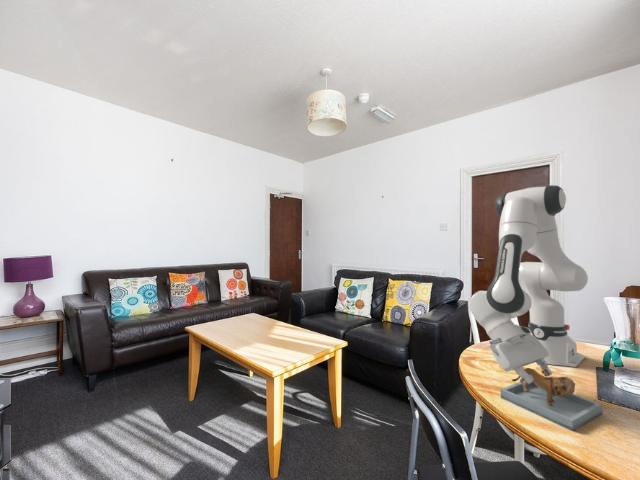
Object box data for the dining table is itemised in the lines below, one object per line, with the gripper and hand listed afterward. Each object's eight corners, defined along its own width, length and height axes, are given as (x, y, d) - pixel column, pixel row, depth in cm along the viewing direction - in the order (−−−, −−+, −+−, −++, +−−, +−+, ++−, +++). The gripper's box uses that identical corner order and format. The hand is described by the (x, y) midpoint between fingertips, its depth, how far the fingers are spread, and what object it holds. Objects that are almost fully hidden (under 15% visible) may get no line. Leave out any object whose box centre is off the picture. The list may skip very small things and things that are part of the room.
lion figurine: (571, 408, 83) (579, 379, 82) (566, 414, 79) (574, 384, 78) (513, 379, 94) (519, 353, 93) (507, 384, 91) (513, 357, 90)
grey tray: (530, 385, 96) (530, 378, 96) (602, 413, 80) (601, 404, 80) (500, 397, 89) (500, 389, 89) (572, 431, 73) (572, 421, 73)
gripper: (493, 336, 88) (528, 382, 80) (531, 327, 98) (567, 367, 89) (479, 346, 92) (512, 391, 83) (517, 336, 101) (550, 376, 93)
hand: (541, 378), depth 86 cm, fingers open, 8 cm apart
